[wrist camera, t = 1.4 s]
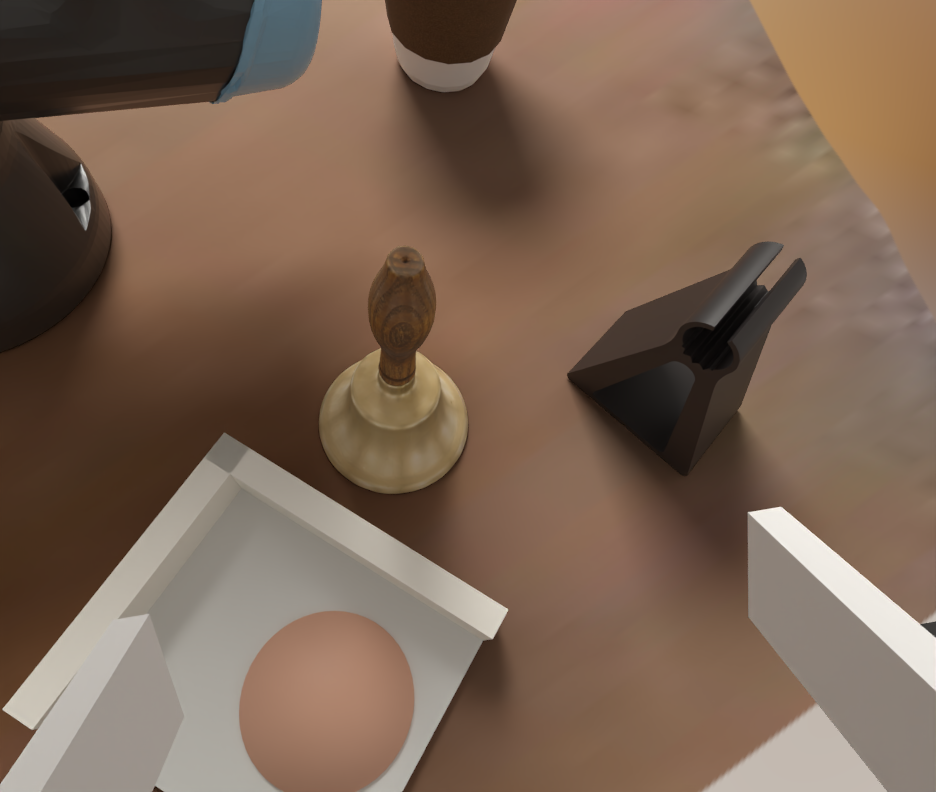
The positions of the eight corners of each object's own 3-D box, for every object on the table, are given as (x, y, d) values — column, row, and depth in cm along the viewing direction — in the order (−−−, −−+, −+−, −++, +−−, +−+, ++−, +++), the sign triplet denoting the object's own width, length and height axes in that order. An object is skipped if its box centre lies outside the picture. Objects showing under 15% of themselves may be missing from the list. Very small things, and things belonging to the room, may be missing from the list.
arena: (42, 703, 30) (2, 709, 27) (238, 452, 35) (224, 432, 32) (339, 906, 28) (334, 938, 25) (495, 614, 34) (508, 609, 31)
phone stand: (737, 408, 40) (875, 314, 29) (683, 477, 38) (809, 404, 27) (623, 314, 41) (713, 190, 30) (565, 375, 39) (639, 266, 28)
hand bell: (291, 399, 37) (234, 227, 22) (416, 331, 39) (441, 136, 24) (369, 524, 35) (364, 427, 20) (495, 444, 37) (574, 306, 22)
